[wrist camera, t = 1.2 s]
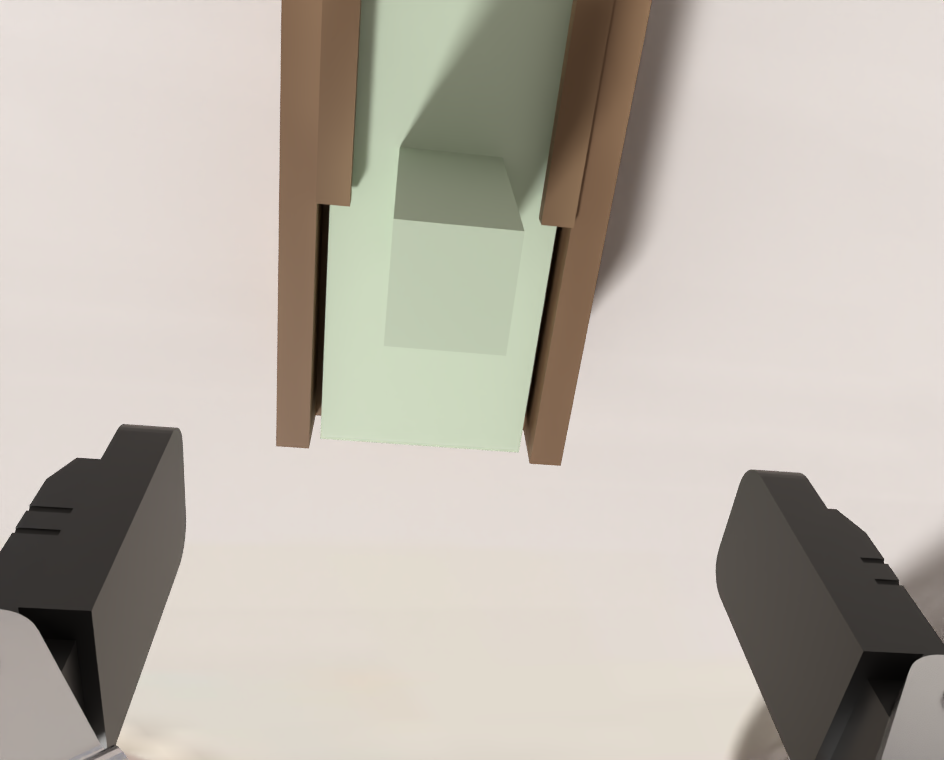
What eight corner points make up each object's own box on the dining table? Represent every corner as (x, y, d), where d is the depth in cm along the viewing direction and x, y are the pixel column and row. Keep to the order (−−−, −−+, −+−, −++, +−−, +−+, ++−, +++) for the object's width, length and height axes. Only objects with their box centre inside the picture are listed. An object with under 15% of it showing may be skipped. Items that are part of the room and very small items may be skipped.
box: (608, -26, 27) (655, -4, 22) (538, 376, 34) (561, 470, 28) (310, -63, 26) (280, -50, 21) (299, 357, 33) (274, 451, 27)
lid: (601, -105, 22) (674, -103, 16) (514, 429, 30) (540, 577, 24) (347, -139, 22) (316, -151, 15) (324, 415, 29) (297, 563, 23)
